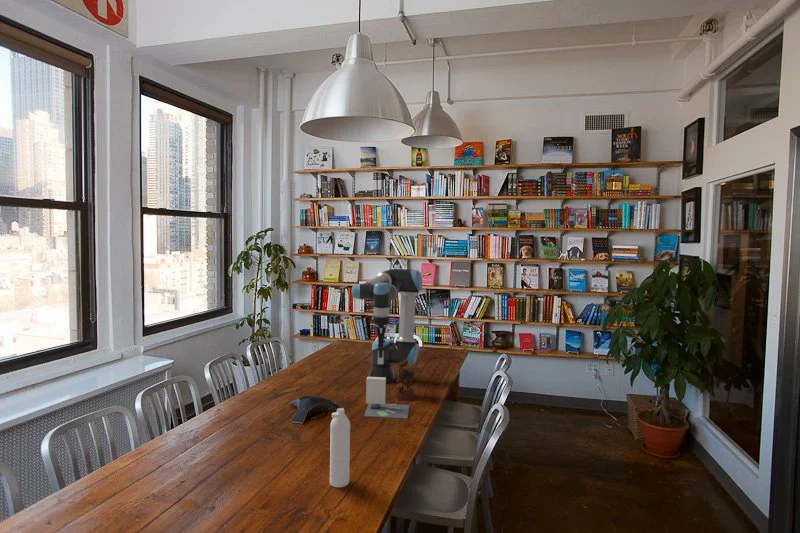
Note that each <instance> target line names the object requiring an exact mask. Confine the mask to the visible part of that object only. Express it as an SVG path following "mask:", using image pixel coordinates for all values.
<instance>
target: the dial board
mask: <svg viewBox="0 0 800 533" xmlns="http://www.w3.org/2000/svg"><path fill="white" fill-rule="evenodd" d="M395 404H396V406H380V408H372V407H371V404H369V403H367V407H366V410H365V412H364V415H363V417H366V418H383V419H400V420H401V419H406V420H407V419H409V418H408V417H409V411H410V405H409V404H397V403H395Z"/></svg>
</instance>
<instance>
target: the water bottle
mask: <svg viewBox="0 0 800 533" xmlns="http://www.w3.org/2000/svg"><path fill="white" fill-rule="evenodd" d="M345 411H346V410H345V409H344V407H338V408H337V409H336V412H335V411H334V412H332V413H331V417H332V419H331V422H330V425H329V429H330V434H329V435H330V437H329V439H330V440H329V441H330V442H329V445H330V446H329V453H330V454H329V484H330V486H332V487H334V488H345V487H347V486H348V485H349V484H350V466H351V463H350V461H351V458H350V456H351V452H350V451H351V442H350V441H351V422H350V419H349V418H348V417H347V415H346V413H345Z"/></svg>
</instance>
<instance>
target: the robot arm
mask: <svg viewBox="0 0 800 533" xmlns="http://www.w3.org/2000/svg"><path fill="white" fill-rule="evenodd" d="M422 289H423V277H422V274H421V272H420V270H417V269H412V268H411V269H408V268H407V269H406V268H391V269H386V270H384V271H381V272H379V273H378V274H377V275H376V276H375V277H374V278H372V279H370V280H368V281H366V282H364V283H354V284H353V285H352V287H351V295H352V296H351V297H352V298H354V299H357V300H369V301H370V300H372V301H373V308H372V309H371V310H372V311H373V318H372V319H373V321H372V322H373V325H375V326H378V327H376V333H377V334H376V335H377V340H374V341H373V342H372V344H371V345H372V346H371V367H370V371H369V373H368V377H385V378H386V384H391V383H393V382H394V381H395V379H396V378H395V373H394V369H393V365H392V364H397V365H398V364H399V363H400V362H402V361H404V360H408V363H407V365H406V366H414V364H416V362H417V359H418V355H419V350H420V348H419V347H420V346H419V345H418V344H417V341H416V339H415V338H414V336H415V320H416V319H415V317H416V316H415V315H416V302H417V300H416V297H417V296H418V295H419V294H420V291H422ZM398 293H399V295H400V306H399V307H400V308H399V323H398V324H399V325H398V337H397V338H395V342H394V341H393V340H392V339H390V338H385V334H386V327H384V326H388V325H389V324H390V303H391V302H390V301H393V300H395V298H397V296H398Z"/></svg>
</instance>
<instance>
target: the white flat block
mask: <svg viewBox="0 0 800 533" xmlns="http://www.w3.org/2000/svg"><path fill="white" fill-rule="evenodd" d="M365 382H366V383H365V387H366V388H365V390H366V391H365V404H371V407H372V408H380V406H396V404H397V403H386V391H387V390H386V388H387V387H386V385H387V383H386V378H385V377H369V376H367V377H366V381H365Z"/></svg>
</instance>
